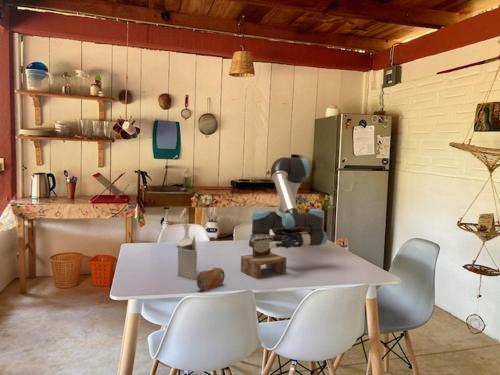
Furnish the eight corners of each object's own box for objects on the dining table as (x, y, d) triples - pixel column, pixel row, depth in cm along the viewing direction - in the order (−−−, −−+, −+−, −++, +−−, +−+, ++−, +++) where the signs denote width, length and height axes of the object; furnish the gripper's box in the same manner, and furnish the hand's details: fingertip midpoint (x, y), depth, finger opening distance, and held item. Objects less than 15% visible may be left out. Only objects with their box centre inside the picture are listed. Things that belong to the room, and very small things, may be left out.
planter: (176, 270, 202) (177, 232, 200) (192, 269, 204) (193, 232, 202) (179, 280, 186) (179, 239, 184) (196, 279, 188) (197, 239, 187)
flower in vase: (180, 244, 258) (181, 205, 256) (197, 245, 257) (198, 206, 254) (173, 248, 245) (174, 208, 243) (191, 250, 244) (192, 209, 241)
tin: (199, 292, 171) (200, 273, 170) (194, 290, 173) (195, 271, 172) (224, 284, 182) (225, 266, 182) (220, 283, 184) (220, 265, 184)
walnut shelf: (240, 271, 203) (241, 256, 202) (268, 266, 213) (269, 251, 212) (257, 279, 191) (257, 262, 191) (285, 273, 202) (286, 257, 201)
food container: (265, 251, 211) (266, 233, 209) (271, 255, 206) (273, 236, 204) (245, 254, 204) (246, 235, 202) (251, 258, 199) (253, 238, 197)
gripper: (312, 252, 198) (274, 255, 190) (287, 241, 221) (252, 244, 212) (313, 237, 198) (275, 240, 189) (287, 228, 220) (253, 230, 212)
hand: (263, 242), depth 201 cm, fingers open, 13 cm apart
